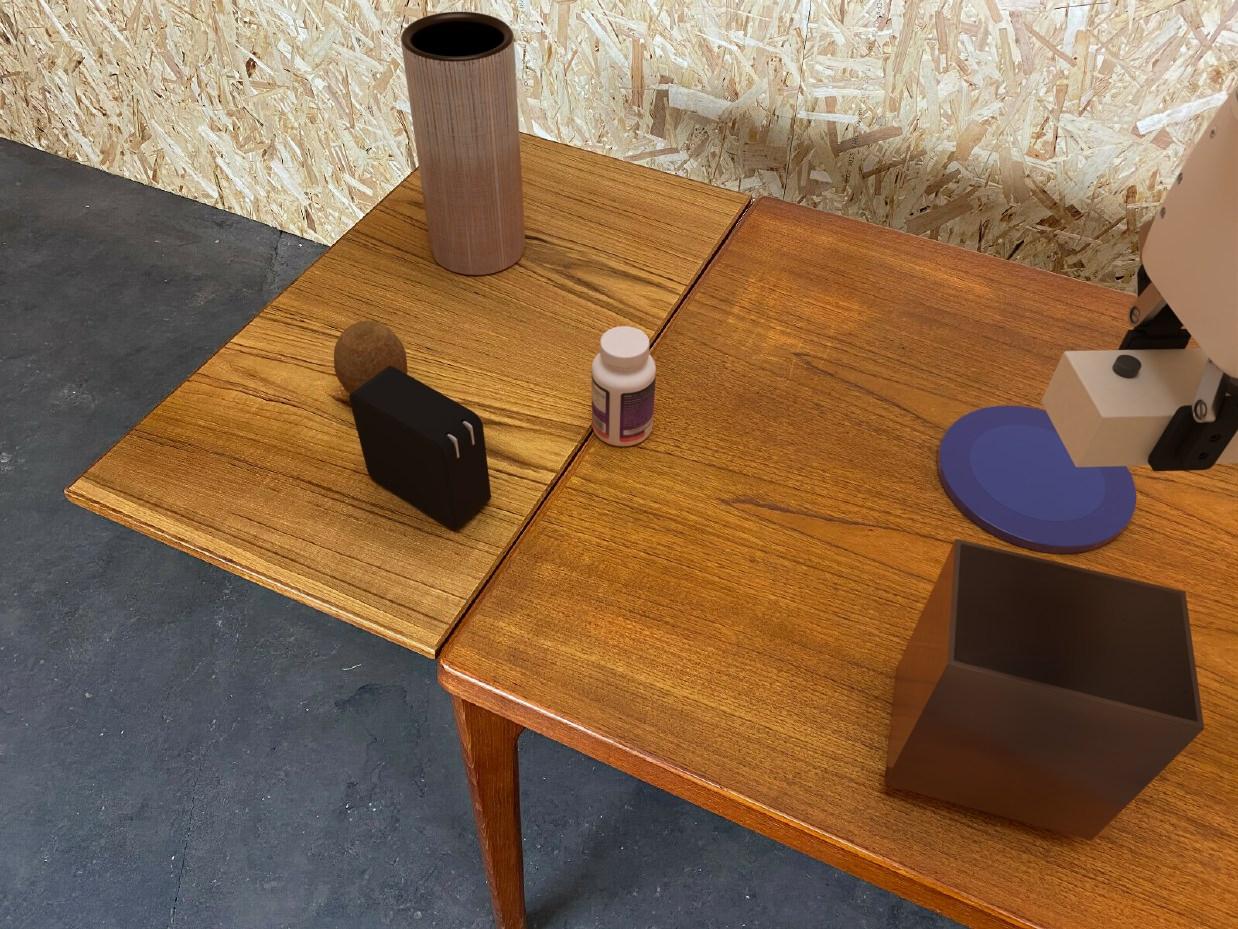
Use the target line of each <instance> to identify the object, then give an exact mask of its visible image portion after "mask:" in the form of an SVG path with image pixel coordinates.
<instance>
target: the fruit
mask: <svg viewBox="0 0 1238 929" xmlns="http://www.w3.org/2000/svg"><path fill="white" fill-rule="evenodd" d="M407 359H408V358H407V352H406V349H405V345H403V343H402V341H401V339H400V338H399V337H398V335H396V333H395V332H394V331H393V330H392V329H391V328H390V327H388V326H387V325H384V324H382V323H380V322H378V321H373V320H363V321H358V322H355V323H352V324H350V325H349V326H348V327H346V328H345V329H344V330H343V331H342V332H341V333H340V336H339V337H338V338H337V340H336V342H335V345H334V348H333V367H334V368H333V369H334V373H335V375H336V376H335V377H336V378H337V380H338V382H339V383H340V385H341V386H342V387H343V389H344V390H345V391H346V392H347V394H348V395H350V394H351V393H352V392H354V391H355V390H356V389H358V388H359V387H360V386H362V385H363V384H365V383H366V382H367V381H369V380H370V379H371V378H373V377H374V376H375V375H377V374H378V373H380V372H381V371H382V370H384V369H385V368H386V367H388V366H393V367H395V368H397V369H398V370H400V371H402V372H404V373H406V374H407V375H408V360H407Z"/></svg>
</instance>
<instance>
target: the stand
mask: <svg viewBox="0 0 1238 929" xmlns="http://www.w3.org/2000/svg"><path fill="white" fill-rule="evenodd" d="M1188 608H1189V607H1188V600H1187V593H1186V591H1185V590H1181V589H1176V588H1172V587H1168V586H1164V585H1160V584H1155V583H1150V582H1147V581H1142V580H1137V579H1134V578H1129V577H1125V576H1120V575H1116V574H1111V573H1107V572H1102V571H1100V570H1099V571H1098V570H1095V569H1090V568H1086V567H1082V566H1077V565H1073V564H1069V563H1068V564H1067V563H1063V562H1060V561H1056V560H1052V559H1046V558H1042V557H1038V556H1033V555H1029V554H1025V553H1020V552H1016V551H1011V550H1009V549H1008V550H1007V549H1004V548H1003V549H1002V548H998V547H994V546H991V545H985V544H981V543H976V542H972V541H968V540H963V539H959V538H955V539H954V542H953V544H952V546H951V547H950V550H949V552H948V554H947V557H946V558H945V561H944V563H943V566H942V568H941V569H940V572H939V575H938V576H937V578H936V581H935V582H934V585H933V587H932V590H931V592H930V593H929V596H928V598H927V601H926V602H925V605H924V607H923V609H922V612H921V614H920V615H919V618H918V620H917V622H916V624H915V627H914V629H913V631H912V633H911V635H910V638H909V640H908V642H907V644H906V646H905V648H904V651H903V654H902V655H901V658H900V659H899V662H898V664H897V666H896V669H895V677H894V679H895V680H894V687H893V696H892V707H891V715H890V726H889V733H888V734H889V735H888V744H887V752H886V753H887V754H886V763H885V772H884V781H883V783H884V785H888V786H892V787H894V788H899V789H903V790H906V791H909V792H912V793H918V794H921V795H924V796H928V797H931V798H935V799H938V800H942V801H945V802H949V803H953V804H956V805H960V806H964V807H967V808H971V809H975V810H978V811H981V812H985V813H988V814H993V815H995V816H1000V817H1004V818H1007V819H1010V820H1014V821H1018V822H1022V823H1025V824H1029V825H1032V826H1035V827H1039V828H1043V829H1047V830H1050V831H1054V832H1057V833H1061V834H1065V835H1068V836H1072V837H1076V838H1078V839H1082V840H1086V841H1091V842H1092V841H1094V840H1095V838H1097V837H1098V835H1100V834H1101V833H1102V831H1103V830H1104V829H1105V828H1106V827H1108V826H1109V824H1110V823H1111V822H1112V821H1114V820H1115V818H1117V817H1118V816H1119V815H1120V814H1121V813H1122V812H1123V811H1124V809H1126V808H1127V806H1129V804H1131V803H1132V802H1133V801H1134V799H1135V798H1137V797H1138V796H1139V795H1140V794H1141V792H1142V791H1144V790H1145V789H1146V788H1147V787H1148V786H1149V785H1150V784H1151V783H1152V782H1153V781H1154V780H1155V779H1156V778H1157V777H1158V776H1159V775H1160V774H1161V773H1162V772H1163V771H1164V770H1165V769H1166V768H1167V767H1168V766H1169V765H1170V764H1171V763H1172V762H1173V761H1174V760H1175V759H1176V758H1177V757H1178V756H1179V755H1180V754H1181V753H1182V752H1183V751H1184V750H1185V749H1186V748H1187V747H1189V745H1190V744H1191V743H1192V742H1193V741H1194V740H1195V739H1196V738H1197V737H1198V736H1199V735H1200V734H1201V733H1202V732H1203V731H1204V730H1205V723H1204V716H1203V710H1202V702H1201V694H1200V687H1199V678H1198V673H1197V666H1196V658H1195V650H1194V644H1193V636H1192V629H1191V623H1190V621H1191V620H1190V614H1189V609H1188Z"/></svg>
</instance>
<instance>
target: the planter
mask: <svg viewBox="0 0 1238 929" xmlns="http://www.w3.org/2000/svg"><path fill="white" fill-rule="evenodd" d="M400 44H401V45H400V46H401V52H402V60H403V66H404V73H405V74H404V75H405V80H406V87H407V88H406V89H407V94H408V102H409V108H410V115H411V121H412V129H413V135H414V143H415V149H416V150H415V151H416V155H417V156H416V157H417V163H418V170H419V179H420V186H421V191H422V199H423V206H424V213H425V220H426V227H427V233H428V241H429V245H430V251H431V255H432V257H433V259H434V261H436V263H437V264H439V265H440V266H441V267H442V268H444V269H446V270H448V271H451V272H454V273H457V274H462V275H468V276H484V275H490V274H494V273H498V272H501V271H503V270H505V269H508V268H510V267H512V266H513V265H514V264H516V263H517V262H518V261H519V260H520V259H521V258H522V256H523V254H524V253H525V249H526V229H525V212H524V211H525V210H524V208H525V207H524V192H523V175H522V159H521V158H522V157H521V140H520V139H521V136H520V120H519V118H520V117H519V104H518V85H517V67H516V66H517V65H516V51H515V49H516V47H515V35H514V32H513V29H512V28H511V27H510V26H509V25H508V24H507V23H506V22H505V21H503V20H501V19H500V18H498V17H496V16H493V15H490V14H486V13H481V12H475V11H446V12H439V13H435V14H434V13H433V14H431V15H427V16H424V17H421V18H419V19H417V20H415V21H413V22H411V23H410V24H408V25H407V27H405V28H404V30H403V31H402V33H401V36H400Z"/></svg>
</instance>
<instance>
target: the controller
mask: <svg viewBox="0 0 1238 929" xmlns="http://www.w3.org/2000/svg"><path fill="white" fill-rule="evenodd" d="M1207 360H1208V356H1207V355H1206V353H1205V352H1204V351H1203V350H1202V348H1185V349H1157V350H1118V349H1103V350H1102V349H1101V350H1100V349H1099V350H1065V351H1063V353H1062V355H1061V357H1060V360H1059V362H1058V364H1057V367H1056V368H1055V371H1054V373H1053V374H1052V376H1051V379H1050V381H1049V383H1048V385H1047V388H1046V390H1045V392H1044V395H1043V396H1042V398H1041V401H1040V402H1041V404H1042V406H1043V408H1044V410H1045V411H1046V412H1047V414H1048V416H1049V418H1050V419H1051V421H1052V423H1053V425H1054V427H1055V429H1056V431H1057V433H1058V434H1059V436H1060V438H1061V440H1062V442H1063V444H1064V446H1065V448H1066V450H1067V451H1068V453H1069V455H1070V457H1071V459H1072V461H1073V463H1074V465H1075V466H1076V467H1111V466H1127V467H1140V466H1141V467H1142V466H1143V467H1145V466H1146V467H1148V466H1149V467H1150V465H1149V463H1148V459H1149V455H1150V453H1151V452H1152V450H1153V449H1154V447H1155V445H1156V444H1157V442H1158V440H1159V439H1160V437H1161V435H1162V434H1163V432H1164V430H1165V429H1166V427H1167V425H1168V424H1169V422H1170V421H1171V419H1172V417H1173V416H1174V414H1175V412H1176V411H1177V409H1178V408H1179V407H1180V406H1184V405H1193V401H1194V398H1195V396H1196V393H1197V390H1198V387H1199V384H1200V381H1201V378H1202V375H1203V372H1204V369H1205V366H1206V363H1207ZM1230 395H1238V378H1234V377H1232V378H1231V381H1230V384H1229V386H1228V389H1227V392H1226V395H1225V396H1230ZM1215 464H1217V465H1219V464H1220V465H1221V464H1222V465H1223V464H1224V465H1225V464H1238V431H1237V432H1236V434H1235V435H1234V437H1233V438H1232V439H1231V441H1230V442H1229V444H1228V445H1227V447H1226V448H1225V450H1224V451H1223V453H1222V454H1221V456H1220V457H1219V458H1218V460H1217V461H1216V463H1215ZM1215 464H1214V465H1215Z"/></svg>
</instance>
